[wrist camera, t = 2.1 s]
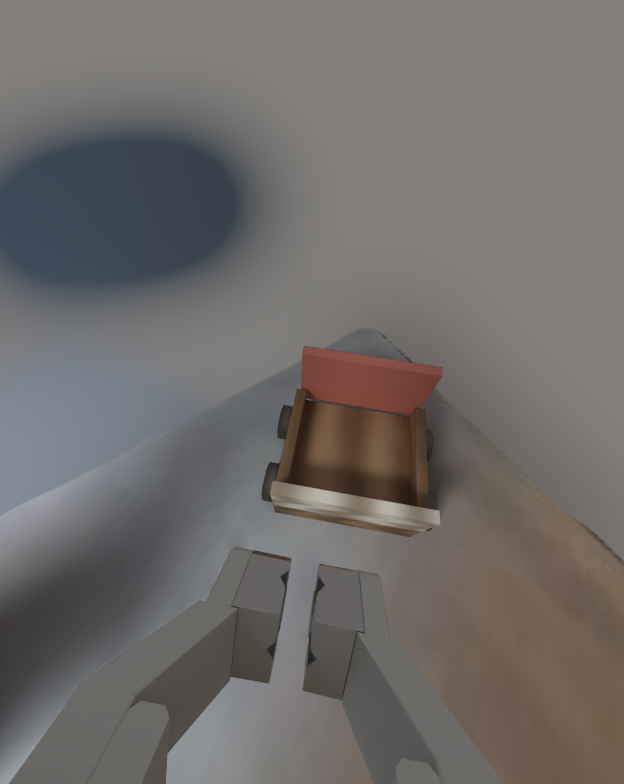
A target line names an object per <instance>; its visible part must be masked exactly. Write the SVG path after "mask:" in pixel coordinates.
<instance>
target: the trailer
mask: <svg viewBox="0 0 624 784" xmlns="http://www.w3.org/2000/svg"><path fill="white" fill-rule="evenodd" d="M306 394H307V390H304V389H298V388H297V392H296V396H295V401H294V405H293V407H292V406H286V405H284V406H283V408H282V411H281V414H280V419H279V425H278V438H281V439H286V440H285V444H284V448H283V453H282V457H281V461H280V464H277V463H272V462H270V463H269V465H268V467H267V470H266V474H265V478H264V483H263V488H262V500H264V501H269V502H273V505H274V509H275V512H278V513H284V514H289V515H295V516H300V517H305V518H311V519H316V520H321V521H327V522H332V523H338V524H343V525H348V526H354V527H359V528H365V529H370V530H375V531H381V532H386V533H391V534H397V535H402V536H408V537H410V536H413V535H415V534H417V533H420V532H422V531H425V530H427V531H430V530H431V529H432V528H433V527H435V526H437V525H440V514H439V511H438V510H436V499H435V496H434V494H433V492H432V491H430V490H428V468H427V462H428V460H429V459H430V456H431V453H432V447H433V436H432V432H431V431H430V430H429V429H426V419H425V409H421V408H415V409H414V410H413V412H412V413H411V415H410V416H409V417H406V416H400V415H394V414H388V413H382V412H376V411H370V410H363V409H357V408H351V407H345V406H339V405H333V404H327V403H321V402H315V401H309V400H306Z"/></svg>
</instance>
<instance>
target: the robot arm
mask: <svg viewBox="0 0 624 784" xmlns="http://www.w3.org/2000/svg"><path fill="white" fill-rule="evenodd" d="M290 565H291V558H287V557H283V556H278V555H273V554H269V553H264V552H260V551H255V550H254V551H253V550H248V549H244V548H239V547H234V548H233V549H232V550H231V552H230V554H229V556H228V558H227V560H226V562H225V564H224V566H223V568H222V570H221V572H220V574H219V576H218V579H217V581H216V583H215V585H214V587H213V589H212V591H211V593H210V595H209V597H208V599H207V601H206V602H205V601H199V602H197V603H196V604H194V605H193V606H192V607H190V608H189V609H187V610H186V611H184V612H183V613H182V614H180V615H179V616H177V617H176V618H174V619H173V620H172V621H170V622H169V623H167V624H166V625H164V626H163V627H162V628H160V629H159V630H157V631H156V632H155V633H153V634H152V635H150V636H149V637H147V638H146V639H145V640H143V641H142V642H140V643H139V644H137V645H136V646H135V647H133V648H132V649H130V650H129V651H127V652H126V653H125V654H123V655H122V656H120V657H119V658H117V659H116V660H115V661H113V662H112V663H110V664H109V665H107V666H106V667H105V668H103V669H102V670H100V671H99V672H97V673H96V674H95V675H93V676H92V677H90V678H89V679H87V680H86V681H85V682H83V683H82V684H81V685H80V686H79V688H78V689H77V691H76V692H75V693H74V695H73V696H72V697H71V699H70V700H69V702H68V703H67V704H66V706H65V707H64V709H63V710H62V711H61V713H60V714H59V715H58V717H57V718H56V720H55V721H54V722H53V724H52V725H51V727H50V728H49V729H48V731H47V732H46V733H45V735H44V736H43V738H42V739H41V740H40V742H39V743H38V744H37V746H36V747H35V749H34V750H33V751H32V753H31V754H30V756H29V757H28V758H27V760H26V761H25V762H24V764H23V765H22V767H21V768H20V769H19V771H18V772H17V773H16V775H15V776H14V778H13V779H12V780H11V782H10V783H9V784H166V769H167V753H168V752H169V751H170V750H171V749H172V748H173V746H174V745H175V744H176V743H177V742H178V740H179V739H180V738H181V737H182V736H183V735H184V733H185V732H186V731H187V730H188V729H189V728H190V726H191V725H192V724H193V723H194V722H195V720H196V719H197V718H198V717H199V716H200V715H201V713H202V712H203V711H204V710H205V709H206V707H207V706H208V705H209V704H210V703H211V702H212V700H213V699H214V698H215V697H216V696H217V695H218V693H219V692H220V691H221V690H222V689H223V687H224V686H225V685H226V684H227V683H228V682H229V680H230V677H235V678H241V679H246V680H252V681H258V682H263V683H269V681H270V676H271V671H272V666H273V661H274V656H275V651H276V645H277V639H278V633H279V631H280V625H281V620H282V614H283V609H284V603H285V597H286V591H287V582H288V577H289V572H290ZM308 638H309V641H308V647H307V653H306V660H305V671H304V682H303V691H306V692H310V693H314V694H318V695H322V696H326V697H330V698H334V699H338V700H342V705H343V708H344V710H345V713H346V715H347V718H348V720H349V723H350V725H351V728H352V730H353V733H354V735H355V738H356V740H357V743H358V745H359V748H360V750H361V752H362V755H363V757H364V760H365V762H366V765H367V767H368V770H369V772H370V775H371V777H372V780H373V782H374V784H501V782H500V779H499V777H498V775H497V774H496V773H495V771H494V770H493V769H492V767H491V766H490V765H489V763H488V762H487V761H486V759H485V758H484V756H483V755H482V754H481V752H480V751H479V750H478V748H477V747H476V746H475V744H474V743H473V742H472V740H471V739H470V738H469V736H468V735H467V733H466V732H465V731H464V729H463V728H462V727H461V725H460V724H459V723H458V721H457V720H456V719H455V717H454V716H453V715H452V713H451V712H450V711H449V709H448V708H447V706H446V705H445V704H444V702H443V701H442V700H441V698H440V697H439V696H438V694H437V693H436V692H435V690H434V689H433V688H432V686H431V685H430V684H429V682H428V681H427V679H426V678H425V677H424V675H423V674H422V673H421V671H420V670H419V669H418V667H417V666H416V665H415V663H414V662H413V661H412V659H411V658H410V657H409V655H408V654H407V652H406V651H405V650H404V648H403V647H402V646H401V644H400V643H399V642H398V640H393V639H391V637H390V631H389V626H388V620H387V614H386V608H385V603H384V597H383V591H382V585H381V579H380V576H379V575H378V574H376V573H370V572H365V571H359V570H358V571H357V570H351V569H346V568H340V567H335V566H329V565H324V564H319V566H318V571H317V576H316V586H315V591H314V593H313V600H312V606H311V612H310V620H309V630H308Z"/></svg>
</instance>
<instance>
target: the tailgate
mask: <svg viewBox="0 0 624 784" xmlns="http://www.w3.org/2000/svg"><path fill="white" fill-rule="evenodd" d="M302 356H303V357H302V389H304V390H307V394H306V398H309V399H315V400H321V401H327V402H333V403H339V404H345V405H351V406H357V407H363V408H369V409H376V410H382V411H388V412H394V413H400V414H406V415H411V413H412V412H413V410H414V409H415V408H420V407H421V406H422V404H423V403H424V401H425V400H426V399H427V397H428V396H429V394H430V393H431V392H432V390H433V389H434V387H435V386H436V385H437V383H438V382H439V380H440V379H441V377H442V367H437V366H430V365H424V364H418V363H411V362H405V361H398V360H392V359H386V358H379V357H373V356H366V355H360V354H354V353H347V352H341V351H334V350H328V349H322V348H315V347H309V346H304V350H303V355H302Z"/></svg>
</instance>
